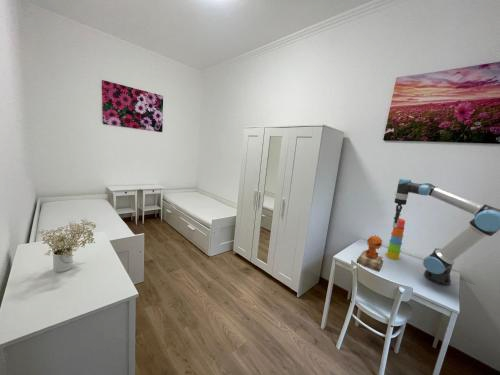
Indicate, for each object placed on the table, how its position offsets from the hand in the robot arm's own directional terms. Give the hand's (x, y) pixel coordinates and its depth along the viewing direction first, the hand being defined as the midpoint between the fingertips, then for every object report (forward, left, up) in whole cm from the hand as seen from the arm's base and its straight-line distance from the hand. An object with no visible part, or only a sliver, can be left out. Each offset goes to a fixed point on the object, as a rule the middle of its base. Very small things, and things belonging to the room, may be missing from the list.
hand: (395, 224), depth 169 cm
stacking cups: (-3, -18, -34) cm, 38 cm away
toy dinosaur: (+10, +11, -28) cm, 31 cm away
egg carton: (+10, +12, -33) cm, 37 cm away
